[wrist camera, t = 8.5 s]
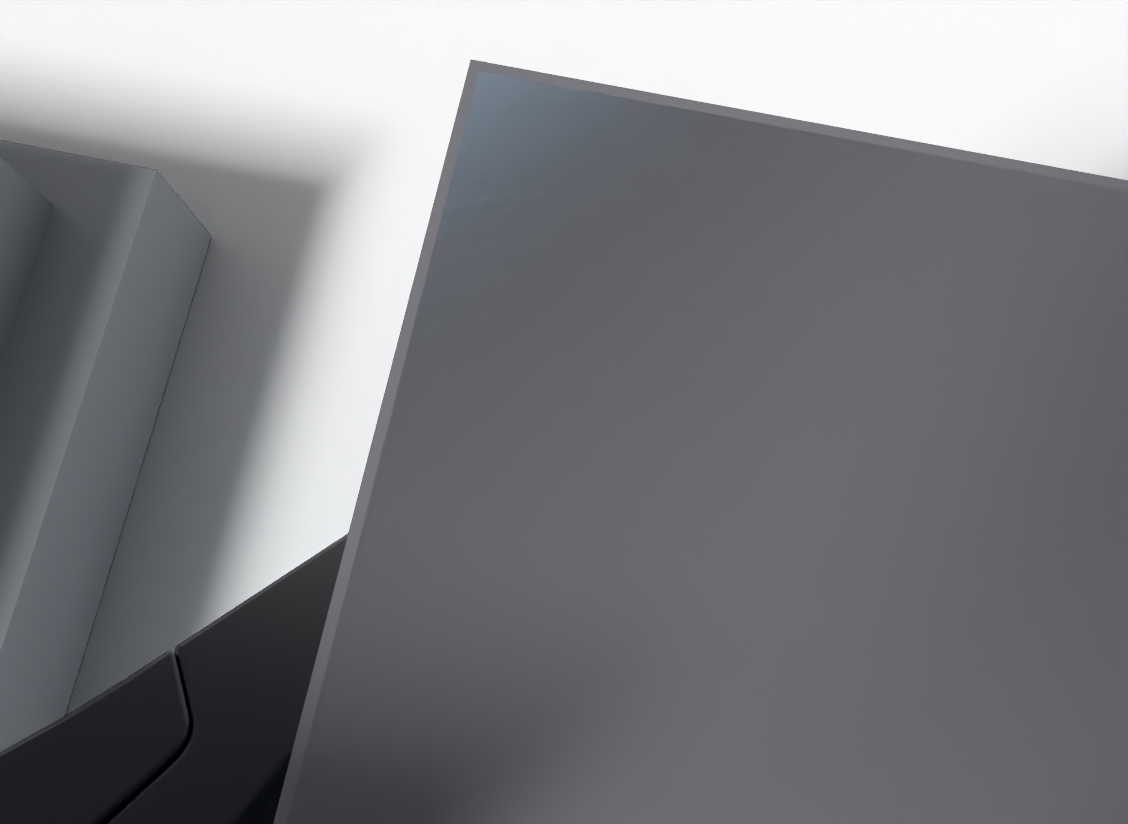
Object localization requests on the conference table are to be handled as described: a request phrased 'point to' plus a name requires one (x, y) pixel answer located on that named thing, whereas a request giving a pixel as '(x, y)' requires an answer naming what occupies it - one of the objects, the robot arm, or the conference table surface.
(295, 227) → the conference table surface
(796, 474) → the pale blue block
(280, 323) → the conference table surface
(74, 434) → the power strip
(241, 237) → the conference table surface
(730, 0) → the conference table surface
